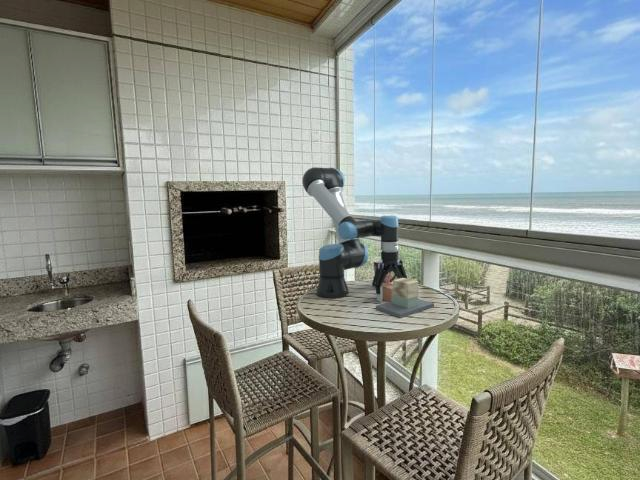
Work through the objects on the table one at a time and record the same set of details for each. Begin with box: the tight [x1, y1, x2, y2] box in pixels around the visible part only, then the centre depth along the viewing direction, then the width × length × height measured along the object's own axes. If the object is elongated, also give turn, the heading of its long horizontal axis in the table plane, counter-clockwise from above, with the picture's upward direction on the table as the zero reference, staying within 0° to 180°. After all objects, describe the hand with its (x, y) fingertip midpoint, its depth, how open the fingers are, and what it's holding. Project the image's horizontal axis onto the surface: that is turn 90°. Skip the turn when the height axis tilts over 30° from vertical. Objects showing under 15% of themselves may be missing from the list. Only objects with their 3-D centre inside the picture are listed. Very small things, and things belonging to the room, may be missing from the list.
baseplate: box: [375, 294, 435, 319], centre depth 135 cm, size 13×20×6 cm, turn 125°
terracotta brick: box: [381, 283, 393, 302], centre depth 148 cm, size 8×6×6 cm
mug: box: [372, 258, 397, 284], centre depth 167 cm, size 13×9×14 cm
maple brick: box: [392, 278, 419, 299], centre depth 134 cm, size 8×6×6 cm
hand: (390, 298), depth 149 cm, fingers open, 12 cm apart
